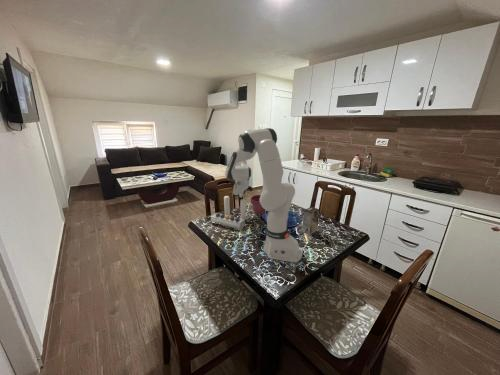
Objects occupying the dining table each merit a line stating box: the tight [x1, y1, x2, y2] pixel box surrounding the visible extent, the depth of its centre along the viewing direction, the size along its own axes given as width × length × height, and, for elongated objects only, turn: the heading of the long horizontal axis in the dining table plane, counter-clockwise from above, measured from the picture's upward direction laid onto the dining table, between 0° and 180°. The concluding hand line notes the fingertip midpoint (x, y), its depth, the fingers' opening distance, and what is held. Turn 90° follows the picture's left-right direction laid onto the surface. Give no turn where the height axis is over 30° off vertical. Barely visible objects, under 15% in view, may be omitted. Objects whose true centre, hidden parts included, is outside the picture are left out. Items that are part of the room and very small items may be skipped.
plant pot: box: [250, 194, 267, 216], centre depth 168 cm, size 14×14×13 cm
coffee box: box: [301, 206, 320, 236], centre depth 140 cm, size 9×6×16 cm
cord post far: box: [223, 195, 231, 216], centre depth 161 cm, size 4×4×16 cm
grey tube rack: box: [210, 212, 246, 231], centre depth 150 cm, size 25×8×7 cm, turn 65°
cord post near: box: [239, 198, 247, 221], centre depth 155 cm, size 4×4×16 cm
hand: (241, 196), depth 166 cm, fingers closed
